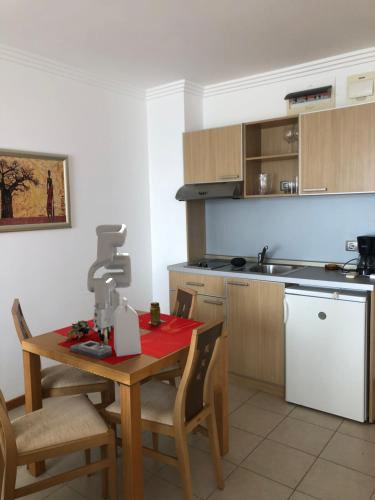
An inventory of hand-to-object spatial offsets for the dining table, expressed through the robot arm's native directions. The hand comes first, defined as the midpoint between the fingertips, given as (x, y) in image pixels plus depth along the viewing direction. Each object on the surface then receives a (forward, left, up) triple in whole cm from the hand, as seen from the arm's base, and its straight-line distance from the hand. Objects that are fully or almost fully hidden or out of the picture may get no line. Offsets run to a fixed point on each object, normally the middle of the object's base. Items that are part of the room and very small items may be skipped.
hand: (104, 339), depth 213 cm
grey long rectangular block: (+7, -10, -2) cm, 12 cm away
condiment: (-18, +40, -3) cm, 44 cm away
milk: (+16, +6, -3) cm, 17 cm away
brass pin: (0, 0, -2) cm, 2 cm away
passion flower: (-18, -7, -3) cm, 19 cm away
